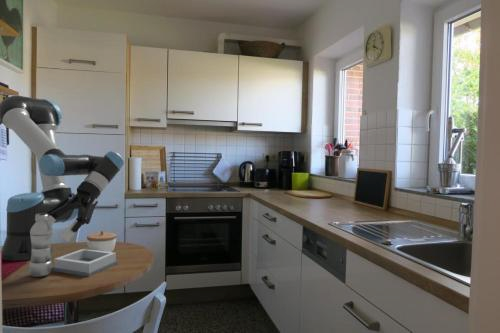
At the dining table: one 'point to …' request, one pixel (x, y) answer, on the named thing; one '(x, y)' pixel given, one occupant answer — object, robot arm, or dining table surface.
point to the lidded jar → (101, 241)
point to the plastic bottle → (40, 246)
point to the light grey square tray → (84, 262)
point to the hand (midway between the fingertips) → (51, 236)
